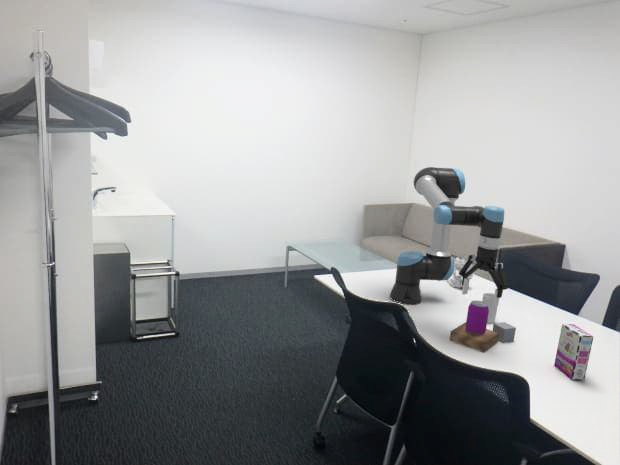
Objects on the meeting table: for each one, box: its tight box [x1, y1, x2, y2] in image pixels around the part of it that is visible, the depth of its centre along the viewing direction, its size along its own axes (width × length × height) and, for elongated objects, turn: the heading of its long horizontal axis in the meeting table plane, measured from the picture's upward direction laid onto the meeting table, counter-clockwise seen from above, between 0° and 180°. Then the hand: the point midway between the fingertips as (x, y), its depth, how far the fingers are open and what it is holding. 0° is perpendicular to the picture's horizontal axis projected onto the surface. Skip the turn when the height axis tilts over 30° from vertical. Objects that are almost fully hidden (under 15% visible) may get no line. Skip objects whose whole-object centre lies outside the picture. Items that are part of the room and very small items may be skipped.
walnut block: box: [449, 321, 499, 353], centre depth 194 cm, size 14×14×4 cm
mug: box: [481, 292, 499, 324], centre depth 219 cm, size 10×7×12 cm, turn 178°
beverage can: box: [465, 300, 489, 335], centre depth 193 cm, size 8×8×12 cm
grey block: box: [492, 321, 517, 344], centre depth 199 cm, size 6×6×6 cm
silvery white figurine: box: [446, 256, 474, 289], centre depth 267 cm, size 20×10×18 cm, turn 2°
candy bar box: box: [554, 323, 594, 381], centre depth 172 cm, size 11×5×16 cm, turn 5°
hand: (479, 299), depth 192 cm, fingers open, 13 cm apart
